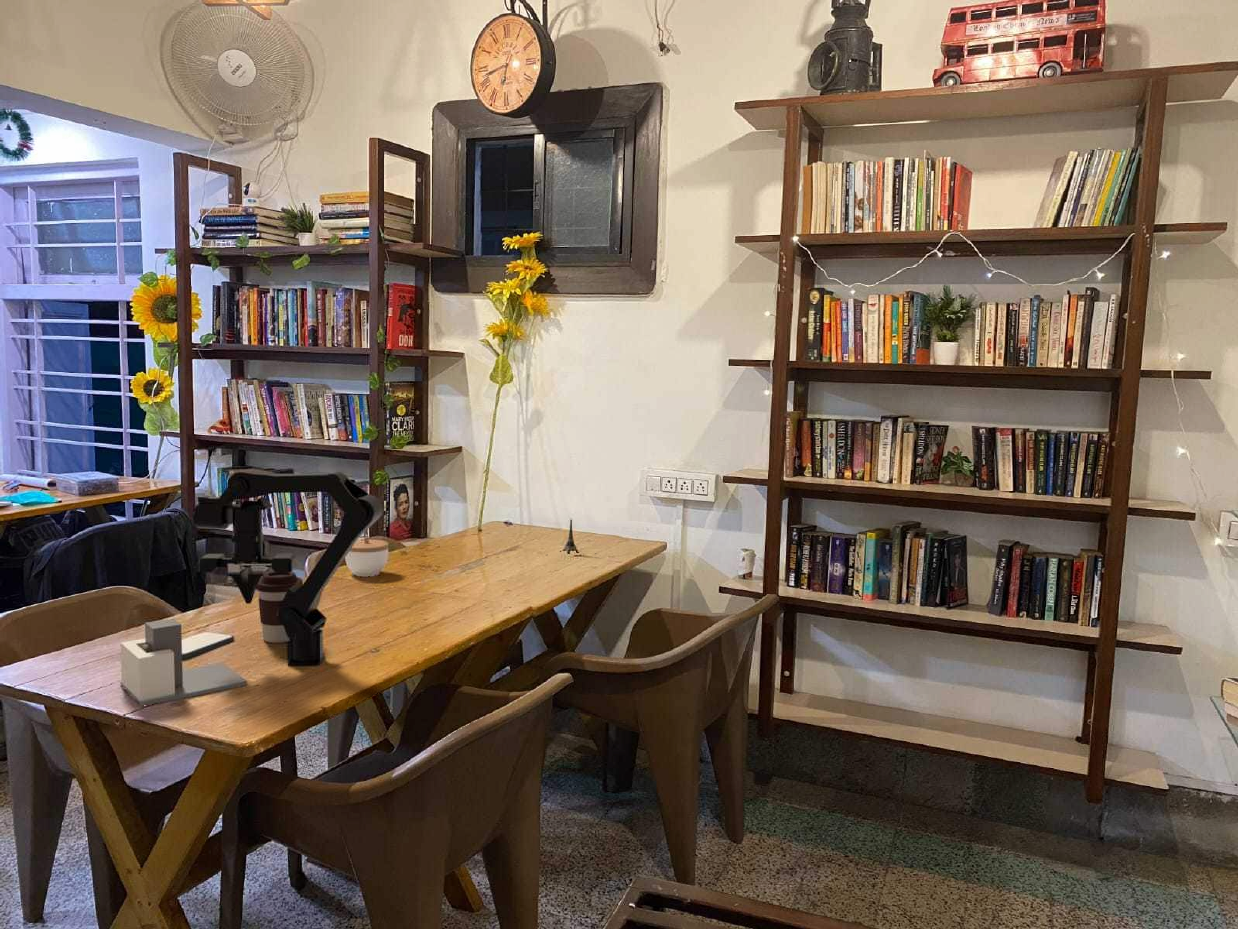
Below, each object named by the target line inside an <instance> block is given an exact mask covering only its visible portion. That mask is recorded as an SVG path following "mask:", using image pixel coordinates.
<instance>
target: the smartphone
mask: <svg viewBox="0 0 1238 929" xmlns="http://www.w3.org/2000/svg"><path fill="white" fill-rule="evenodd" d="M233 640H234V641H235V636H234V635H230V634H226V633H218V632H217V633H216V632H210V631H203V632H200V633H197V634H194V635H192V636H189V637H188V636H187V637H186V638H182V661H184V660H188V659H191V658H194V657H196V656H199V655H201V654H203V653H207V652H209V651H211V650H214V649H216V647H217V648H219V647H221V646H224V645H226V643H227V644H229V643H232V642H234V641H233ZM231 641H232V642H231ZM208 650H209V651H208ZM206 651H207V652H206Z"/></svg>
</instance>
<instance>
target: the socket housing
mask: <svg viewBox="0 0 1238 929" xmlns="http://www.w3.org/2000/svg"><path fill="white" fill-rule="evenodd" d="M143 645H146V641H145V638H141V639H140V638H139V639H134V640H127V641H122V642H120V664H121V671H120V672H121V681H120V687H121V686H122V687H123V688H125V690H126V691H128V693H129V694H130V695H132V696H133V698H135V700H136V701H137V702H139V704H140V705H142V706H144V705H149V706H153V705H152V704H154V705H156V704H155V703H159V704H161V703H160V702H163V703H168V702H172V701H171V700H173V701H178V700H182V698H183V699H187V698H191V697H196V696H201V695H206V694H211V693H216V692H219V691H224V690H230V689H234V688H239V687H243V686H248V680H247V679H245V678H243V676H241V674H238V673H237V672H235V671H234V670H233V669H231V668H230V667H229V666H227V665H226V664H224V663H223V662H217V663H212V664H207V665H201V666H196V667H191V668H186V669H182V673H183V686H178V687H175V677H174V652H173V651H171V650H170V649H167V650H161V651H156V652H150V653H146V649H145V650H144V649H143ZM122 687H121V688H122ZM123 688H122V689H123ZM125 690H124V691H125ZM126 691H125V692H126ZM128 693H127V694H128ZM129 694H128V695H129ZM130 695H129V696H130ZM133 698H132V699H133ZM177 699H178V700H177ZM135 700H134V701H135ZM136 701H135V702H136ZM167 701H168V702H167ZM137 702H136V703H137ZM139 704H138V705H139ZM140 705H139V706H140ZM144 707H145V706H144Z"/></svg>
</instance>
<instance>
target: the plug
mask: <svg viewBox="0 0 1238 929" xmlns="http://www.w3.org/2000/svg"><path fill="white" fill-rule="evenodd" d="M144 634H145V635H144V636H145V637H144V639H145V641H146V645H143V649H144V650H145V649H146V653H150V652H156V651H161V650H167V649H170V650H171V651H173V652H174V677H175V687H178V686H183V673H182V670H183V660H182V639H183V638H182V637H183V636H182V623H180V622H179V621H177V620H176V619H174V618H168V619H161V620H156V621H155V620H154V621H149V622H148V621H147V622H145V623H144Z"/></svg>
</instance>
